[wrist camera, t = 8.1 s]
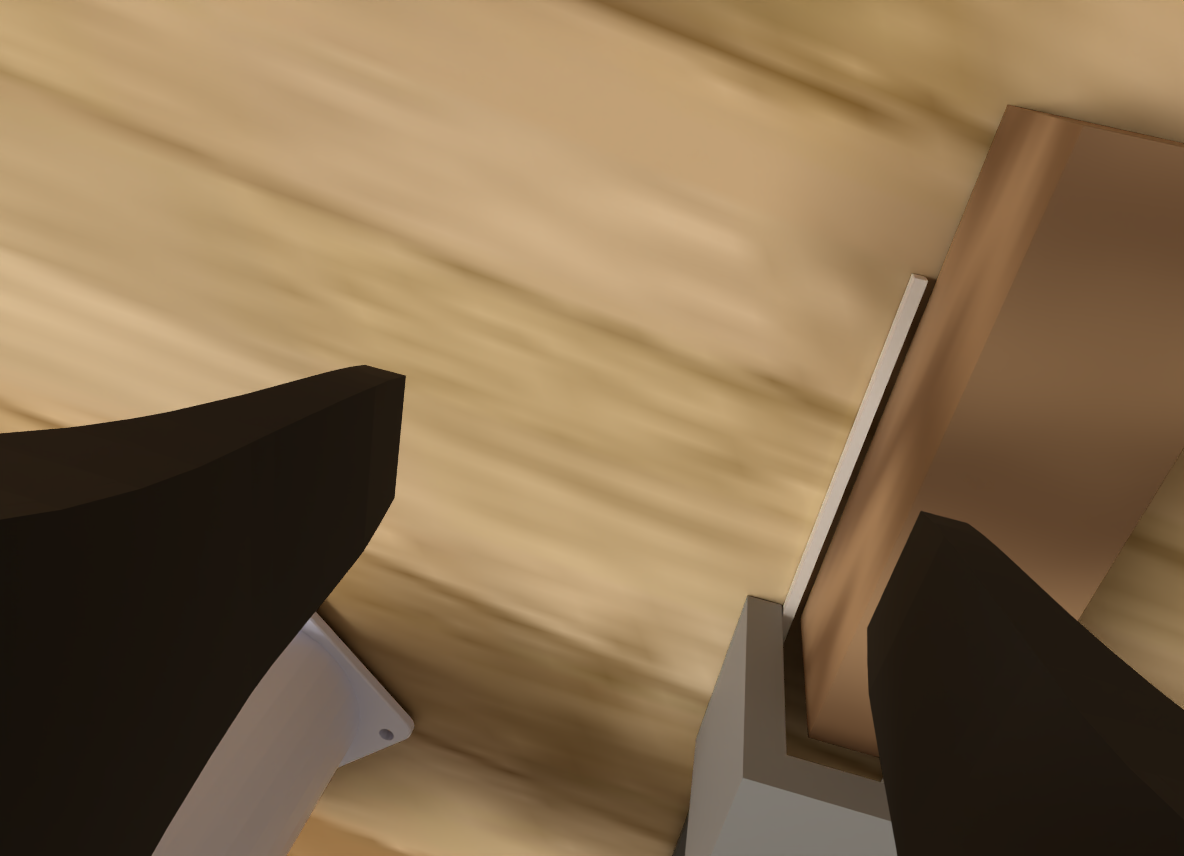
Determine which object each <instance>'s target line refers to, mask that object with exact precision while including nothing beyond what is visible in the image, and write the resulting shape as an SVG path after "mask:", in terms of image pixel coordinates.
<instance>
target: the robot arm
mask: <svg viewBox="0 0 1184 856" xmlns="http://www.w3.org/2000/svg"><path fill="white" fill-rule="evenodd" d="M405 379H406V376H405V375H401V374H397V373H393V372H390V371H386V370H382V369H378V368H374V367H371V366H367V365H361V366H353V367H348V368H343V369H339V370H334V371H330V372H326V373H322V374H319V375H315V376H311V377H307V378H304V379H300V380H296V381H293V382H289V383H285V384H281V385H278V386H274V387H270V388H267V389H263V390H259V391H256V392H252V393H248V394H244V395H240V396H236V397H232V398H227V399H223V400H219V401H214V402H210V403H206V404H201V405H197V406H193V407H188V408H184V409H180V410H175V411H171V412H166V413H161V414H156V415H150V416H145V417H139V418H133V419H127V420H120V421H113V422H107V423H100V424H93V425H86V426H78V427H70V428H60V429H48V430H36V431H24V432H12V433H1V434H0V856H287V854H288V852H289V851H290V849H291V847H292V846H293V844H294V842H295V840H296V839H297V837H298V835H299V834H300V832H301V830H302V828H303V827H304V825H305V823H306V821H307V820H308V818H309V816H310V815H311V813H312V811H313V809H314V808H315V806H316V804H317V803H318V801H319V799H320V797H321V796H322V794H323V792H324V791H325V789H326V787H327V785H328V784H329V782H330V780H331V778H332V777H333V775H334V773H335V772H336V770H337V768H339V767H341V766H343V765H346V764H348V763H351V762H353V761H355V760H358V759H360V758H363V757H365V756H367V755H370V754H372V753H375V752H377V751H379V750H382V749H384V748H386V747H389V746H391V745H394V744H396V743H398V742H401V741H403V740H406V739H407V738H409V737H410V735H411V733H412V731H413V729H414V722H413V720H412V719H411V717H410V716H409V715H408V714H407V713H406V712H405V711H404V709H403V708H402V707H401V706H400V705H399V704H398V703H397V702H396V701H395V699H394V698H393V697H392V696H391V695H390V694H389V693H388V692H387V691H386V689H385V688H384V687H383V686H382V685H381V684H380V683H379V682H378V680H377V679H376V678H375V677H374V676H373V675H372V674H371V673H370V672H369V670H368V669H367V668H366V667H365V666H364V665H363V664H362V663H361V662H360V660H359V659H358V658H357V657H356V656H355V655H354V654H353V653H352V651H351V650H350V649H349V648H348V647H347V646H346V645H345V644H344V643H343V641H342V640H341V639H340V638H339V637H338V636H337V635H336V634H335V633H334V631H333V630H332V629H331V628H330V627H329V626H328V625H327V624H326V623H325V621H324V620H323V619H322V618H321V617H320V616H319V615H318V614H317V612H316V610H317V609H318V608H319V607H320V605H321V604H322V603H323V602H324V600H325V599H326V598H327V597H328V596H329V594H330V593H331V592H332V591H333V589H334V588H335V587H336V586H337V584H338V583H339V582H340V580H341V579H342V578H343V577H344V575H345V574H346V573H347V572H348V570H349V569H350V568H351V567H352V565H353V564H354V563H355V562H356V560H357V559H358V558H359V556H360V555H361V554H362V552H363V551H364V549H365V548H366V546H367V545H368V543H369V541H370V540H371V538H372V536H373V535H374V533H375V531H376V530H377V528H378V526H379V524H380V523H381V521H382V519H383V517H384V516H385V514H386V512H387V510H388V508H389V507H390V505H391V503H392V501H393V500H394V497H395V486H396V476H397V465H398V454H399V443H400V433H401V422H402V411H403V401H404V390H405ZM867 668H868V692H869V699H870V706H871V712H872V718H873V723H874V729H875V735H876V741H877V747H878V752H879V758H880V763H881V769H882V774H883V780H884V785H885V791H886V796H887V802H888V807H889V813H890V818H891V824H892V829H893V835H894V840H895V846H896V851H897V856H1184V710H1183V709H1182V708H1180V707H1179V706H1178V705H1177V704H1175V703H1174V702H1173V701H1172V700H1170V699H1169V698H1168V697H1166V696H1165V695H1164V694H1163V693H1161V692H1160V691H1159V690H1158V689H1156V688H1155V687H1154V686H1153V685H1151V684H1150V683H1149V682H1148V681H1147V680H1145V679H1144V678H1143V677H1142V676H1141V675H1139V674H1138V673H1137V672H1136V671H1135V670H1133V669H1132V668H1131V667H1130V666H1129V665H1127V664H1126V663H1125V662H1124V661H1123V660H1122V659H1120V658H1119V657H1118V656H1117V655H1116V654H1114V653H1113V652H1112V651H1111V650H1110V649H1108V648H1107V647H1106V646H1105V645H1104V644H1103V643H1102V642H1100V641H1099V640H1098V639H1097V638H1096V637H1095V636H1094V635H1093V634H1091V633H1090V632H1089V631H1088V630H1087V629H1086V628H1085V627H1084V626H1082V625H1081V624H1080V623H1079V622H1078V621H1077V620H1076V619H1075V618H1074V617H1073V616H1071V615H1070V614H1069V613H1068V612H1067V611H1066V610H1065V609H1064V608H1063V607H1062V606H1061V605H1059V604H1058V603H1057V602H1056V601H1055V600H1054V599H1053V598H1052V597H1051V596H1050V595H1049V594H1048V593H1047V592H1045V591H1044V590H1043V589H1042V588H1041V587H1040V586H1039V585H1038V584H1037V583H1036V582H1035V581H1034V580H1033V579H1032V578H1030V577H1029V576H1028V575H1027V574H1026V573H1025V572H1024V571H1023V570H1022V569H1021V568H1020V567H1019V566H1018V565H1017V564H1015V563H1014V562H1013V561H1012V560H1011V559H1010V558H1009V557H1008V556H1007V555H1006V554H1005V553H1004V552H1002V551H1001V550H1000V549H999V548H998V547H997V546H996V545H995V544H993V543H992V542H991V541H990V540H989V539H988V538H986V537H985V536H984V535H983V534H982V533H980V532H979V531H978V530H977V529H975V528H974V527H972V526H971V525H970V524H968V523H966V522H962V521H958V520H954V519H951V518H947V517H943V516H939V515H935V514H932V513H928V512H924V511H920V513H919V515H918V518H917V520H916V522H915V524H914V526H913V529H912V531H911V533H910V535H909V537H908V540H907V542H906V544H905V546H904V548H903V550H902V553H901V555H900V557H899V559H898V561H897V564H896V566H895V568H894V570H893V572H892V575H891V577H890V579H889V581H888V583H887V585H886V588H885V590H884V592H883V594H882V596H881V599H880V601H879V603H878V605H877V607H876V609H875V612H874V614H873V616H872V618H871V620H870V623H869V625H868V627H867ZM389 730H390V731H389Z"/></svg>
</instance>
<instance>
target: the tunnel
mask: <svg viewBox="0 0 1184 856" xmlns="http://www.w3.org/2000/svg"><path fill="white" fill-rule="evenodd" d="M927 283H928V280H927V279H926V277H925V276H921V275H917V274H912V275H911V277H910V280H909V283H908V285H907V288H906V290H905V293H904V296H903V298H902V301H901V303H900V306H899V308H898V311H897V314H896V316H895V319H894V321H893V324H892V326H891V329H890V332H889V334H888V337H887V339H886V342H885V345H884V347H883V350H882V352H881V355H880V357H879V360H878V363H877V365H876V368H875V370H874V373H873V375H872V378H871V381H870V383H869V386H868V388H867V391H866V393H865V396H864V399H863V401H862V404H861V406H860V409H859V412H858V414H857V417H856V419H855V422H854V424H853V427H852V430H851V432H850V435H849V437H848V440H847V442H846V445H845V448H844V450H843V453H842V455H841V458H840V460H839V463H838V466H837V468H836V471H835V473H834V476H833V479H832V481H831V484H830V486H829V489H828V491H827V494H826V497H825V499H824V502H823V504H822V507H821V509H820V512H819V515H818V517H817V520H816V522H815V525H814V528H813V530H812V533H811V535H810V538H809V540H808V543H807V546H806V548H805V551H804V553H803V556H802V558H801V561H800V564H799V566H798V569H797V571H796V574H795V576H794V579H793V582H792V584H791V587H790V589H789V592H788V595H787V597H786V600H785V602H784V605H783V607H782V605H780V604H776V603H773V602H769V601H765V600H762V599H758V598H754V597H751V596H747V598H746V601H745V604H744V607H743V610H742V612H741V615H740V618H739V621H738V624H737V626H736V629H735V632H734V635H733V637H732V640H731V643H730V646H729V649H728V651H727V654H726V657H725V660H724V663H723V665H722V668H721V671H720V674H719V676H718V679H717V682H716V685H715V688H714V690H713V693H712V696H711V699H710V702H709V704H708V707H707V710H706V713H705V715H704V718H703V721H702V724H701V727H700V729H699V732H698V735H697V738H696V744H695V755H694V765H693V776H692V786H691V797H690V807H689V818H688V829H687V839H686V850H685V856H897V851H896V846H895V840H894V835H893V829H892V824H891V818H890V813H889V807H888V802H887V796H886V791H885V785H884V780H883V779H882V781H881V782H878V781H875V780H871V779H868V778H865V777H861V776H858V775H854V774H851V773H847V772H844V771H840V770H837V769H834V768H830V767H827V766H823V765H820V764H816V763H813V762H809V761H806V760H803V759H799V758H796V757H792V756H789V755H787V753H786V723H785V693H784V663H783V643H784V641H785V638H786V636H787V633H788V631H789V628H790V626H791V623H792V621H793V618H794V616H795V613H796V611H797V608H798V606H799V603H800V601H801V598H802V596H803V593H804V591H805V588H806V586H807V583H808V581H809V578H810V576H811V573H812V571H813V568H814V566H815V563H816V561H817V558H818V556H819V553H820V551H821V548H822V546H823V543H824V541H825V538H826V536H827V533H828V531H829V528H830V526H831V523H832V521H833V518H834V516H835V513H836V511H837V508H838V506H839V503H840V501H841V498H842V496H843V493H844V491H845V488H846V486H847V483H848V481H849V478H850V476H851V473H852V471H853V468H854V466H855V463H856V461H857V458H858V456H859V453H860V451H861V448H862V446H863V443H864V441H865V438H866V436H867V433H868V431H869V428H870V426H871V423H872V421H873V418H874V416H875V413H876V410H877V408H878V405H879V403H880V400H881V398H882V395H883V393H884V390H885V388H886V385H887V383H888V380H889V378H890V375H891V373H892V370H893V368H894V365H895V363H896V360H897V358H898V355H899V353H900V350H901V348H902V345H903V343H904V340H905V338H906V335H907V333H908V330H909V328H910V325H911V323H912V320H913V318H914V315H915V313H916V310H917V308H918V305H919V303H920V300H921V298H922V295H923V293H924V290H925V288H926V285H927Z"/></svg>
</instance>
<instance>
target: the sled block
mask: <svg viewBox="0 0 1184 856" xmlns="http://www.w3.org/2000/svg"><path fill="white" fill-rule="evenodd" d="M1183 448H1184V143H1180V142H1175V141H1171V140H1166V139H1162V138H1157V137H1153V136H1148V135H1144V134H1139V133H1134V132H1130V131H1125V130H1121V129H1116V128H1112V127H1107V126H1103V125H1098V124H1093V123H1089V122H1084V121H1080V120H1075V119H1071V118H1066V117H1062V116H1057V115H1052V114H1048V113H1043V112H1039V111H1034V110H1030V109H1025V108H1021V107H1016V106H1011V105H1007V107H1006V110H1005V112H1004V115H1003V117H1002V120H1001V122H1000V125H999V127H998V130H997V132H996V135H995V137H994V139H993V142H992V144H991V147H990V149H989V152H988V154H987V157H986V159H985V162H984V164H983V167H982V169H981V172H980V174H979V177H978V179H977V182H976V184H975V186H974V189H973V191H972V194H971V196H970V199H969V201H968V204H967V206H966V209H965V211H964V214H963V216H962V219H961V221H960V224H959V226H958V229H957V231H956V233H955V236H954V238H953V241H952V243H951V246H950V248H949V251H948V253H947V256H946V258H945V261H944V263H943V266H942V268H941V271H940V273H939V276H938V278H937V281H936V283H935V285H934V288H933V290H932V293H931V295H930V298H929V300H928V303H927V305H926V308H925V310H924V313H923V315H922V318H921V320H920V323H919V325H918V328H917V330H916V332H915V335H914V337H913V340H912V342H911V345H910V347H909V350H908V352H907V355H906V357H905V360H904V362H903V365H902V367H901V370H900V372H899V375H898V377H897V379H896V382H895V384H894V387H893V389H892V392H891V394H890V397H889V399H888V402H887V404H886V407H885V409H884V412H883V414H882V417H881V419H880V422H879V424H878V426H877V429H876V431H875V434H874V436H873V439H872V441H871V444H870V446H869V449H868V451H867V454H866V456H865V459H864V461H863V464H862V466H861V469H860V471H859V473H858V476H857V478H856V481H855V483H854V486H853V488H852V491H851V493H850V496H849V498H848V501H847V503H846V506H845V508H844V511H843V513H842V516H841V518H840V521H839V523H838V525H837V528H836V530H835V533H834V535H833V538H832V540H831V543H830V545H829V548H828V550H827V553H826V555H825V558H824V560H823V563H822V565H821V568H820V570H819V572H818V575H817V577H816V580H815V582H814V585H813V587H812V590H811V592H810V595H809V597H808V600H807V602H806V605H805V607H804V610H803V612H802V615H801V617H800V619H801V634H802V650H803V665H804V680H805V696H806V711H807V726H808V737H809V738H813V739H816V740H820V741H823V742H827V743H830V744H834V745H837V746H841V747H844V748H848V749H851V750H854V751H858V752H861V753H865V754H868V755H872V756H875V757H879V752H878V747H877V741H876V735H875V729H874V723H873V718H872V712H871V706H870V699H869V692H868V668H867V627H868V625H869V623H870V620H871V618H872V616H873V614H874V612H875V609H876V607H877V605H878V603H879V601H880V599H881V596H882V594H883V592H884V590H885V588H886V585H887V583H888V581H889V579H890V577H891V575H892V572H893V570H894V568H895V566H896V564H897V561H898V559H899V557H900V555H901V553H902V550H903V548H904V546H905V544H906V542H907V540H908V537H909V535H910V533H911V531H912V529H913V526H914V524H915V522H916V520H917V518H918V515H919V513H920V511H924V512H928V513H932V514H935V515H939V516H943V517H947V518H951V519H954V520H958V521H962V522H966V523H968V524H970V525H971V526H972V527H974V528H975V529H977V530H978V531H979V532H980V533H982V534H983V535H984V536H985V537H986V538H988V539H989V540H990V541H991V542H992V543H993V544H995V545H996V546H997V547H998V548H999V549H1000V550H1001V551H1002V552H1004V553H1005V554H1006V555H1007V556H1008V557H1009V558H1010V559H1011V560H1012V561H1013V562H1014V563H1015V564H1017V565H1018V566H1019V567H1020V568H1021V569H1022V570H1023V571H1024V572H1025V573H1026V574H1027V575H1028V576H1029V577H1030V578H1032V579H1033V580H1034V581H1035V582H1036V583H1037V584H1038V585H1039V586H1040V587H1041V588H1042V589H1043V590H1044V591H1045V592H1047V593H1048V594H1049V595H1050V596H1051V597H1052V598H1053V599H1054V600H1055V601H1056V602H1057V603H1058V604H1059V605H1061V606H1062V607H1063V608H1064V609H1065V610H1066V611H1067V612H1068V613H1069V614H1070V615H1071V616H1073V617H1074V618H1075V619H1076V620H1077V621H1078V620H1079V618H1080V616H1081V615H1082V613H1083V611H1084V610H1085V608H1086V606H1087V605H1088V603H1089V602H1090V600H1091V598H1092V597H1093V595H1094V593H1095V592H1096V590H1097V589H1098V587H1099V585H1100V584H1101V582H1102V580H1103V579H1104V577H1105V575H1106V574H1107V572H1108V571H1109V569H1110V567H1111V566H1112V564H1113V562H1114V561H1115V559H1116V558H1117V556H1118V554H1119V553H1120V551H1121V549H1122V548H1123V546H1124V544H1125V543H1126V541H1127V540H1128V538H1129V536H1130V535H1131V533H1132V531H1133V530H1134V528H1135V526H1136V525H1137V523H1138V522H1139V520H1140V518H1141V517H1142V515H1143V513H1144V512H1145V510H1146V509H1147V507H1148V505H1149V504H1150V502H1151V500H1152V499H1153V497H1154V495H1155V494H1156V492H1157V491H1158V489H1159V487H1160V486H1161V484H1162V482H1163V481H1164V479H1165V478H1166V476H1167V474H1168V473H1169V471H1170V469H1171V468H1172V466H1173V464H1174V463H1175V461H1176V460H1177V458H1178V456H1179V455H1180V453H1181V451H1182V450H1183Z"/></svg>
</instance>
